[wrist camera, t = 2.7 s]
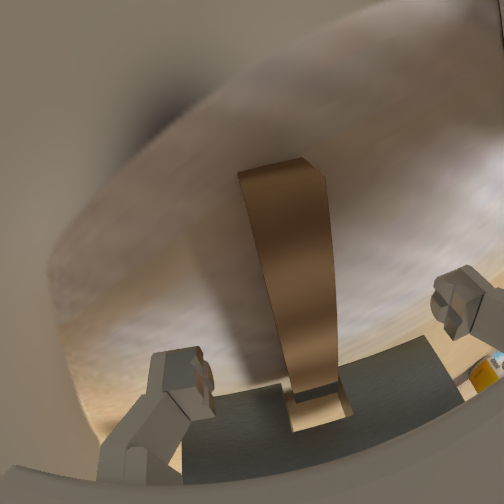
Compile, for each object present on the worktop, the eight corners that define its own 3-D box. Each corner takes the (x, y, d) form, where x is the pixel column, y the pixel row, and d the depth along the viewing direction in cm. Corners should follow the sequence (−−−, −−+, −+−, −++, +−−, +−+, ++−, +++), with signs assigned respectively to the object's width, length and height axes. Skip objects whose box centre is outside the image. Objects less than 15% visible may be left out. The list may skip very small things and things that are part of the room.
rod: (237, 172, 17) (243, 196, 14) (302, 157, 17) (324, 176, 14) (287, 370, 28) (295, 403, 24) (326, 359, 28) (337, 391, 24)
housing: (176, 400, 29) (176, 510, 18) (428, 330, 28) (483, 420, 17) (195, 422, 32) (200, 517, 21) (418, 360, 31) (462, 441, 20)
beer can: (461, 379, 40) (495, 441, 27) (478, 357, 36) (518, 422, 24) (480, 371, 40) (513, 428, 28) (496, 350, 37) (534, 408, 25)
